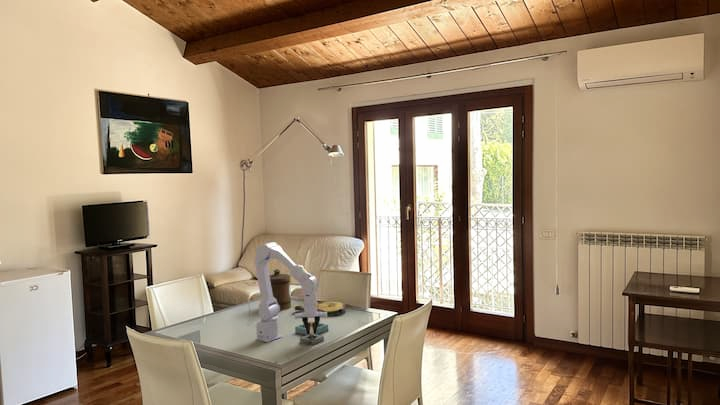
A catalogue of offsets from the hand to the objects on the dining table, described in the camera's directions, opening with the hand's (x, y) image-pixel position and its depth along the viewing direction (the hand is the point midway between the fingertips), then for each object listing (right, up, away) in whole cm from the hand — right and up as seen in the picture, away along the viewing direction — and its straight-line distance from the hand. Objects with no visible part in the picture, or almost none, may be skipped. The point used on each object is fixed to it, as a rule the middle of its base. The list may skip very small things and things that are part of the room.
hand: (311, 333), depth 219 cm
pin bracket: (0, -4, 0) cm, 3 cm away
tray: (-1, -3, +14) cm, 15 cm away
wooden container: (-25, -2, +62) cm, 67 cm away
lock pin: (0, -3, 0) cm, 3 cm away
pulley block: (+1, -2, +48) cm, 48 cm away
